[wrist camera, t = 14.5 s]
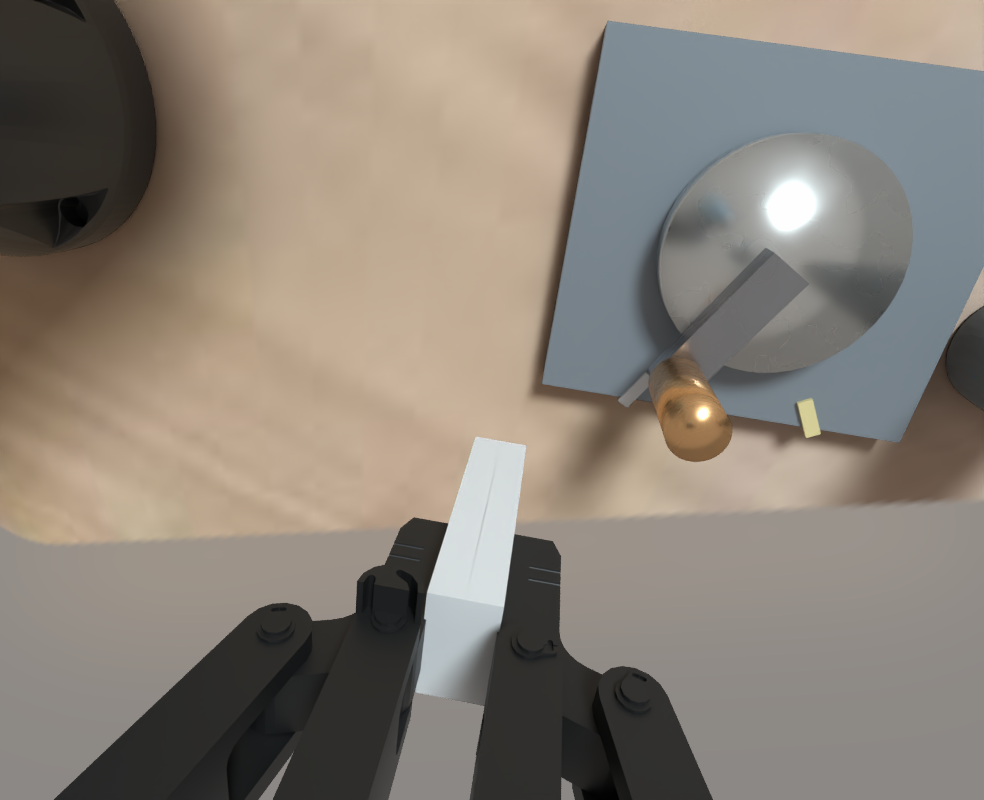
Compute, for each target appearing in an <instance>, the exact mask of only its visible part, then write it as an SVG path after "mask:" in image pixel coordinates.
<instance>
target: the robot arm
mask: <svg viewBox="0 0 984 800" xmlns="http://www.w3.org/2000/svg"><path fill="white" fill-rule="evenodd" d="M155 144H156V121H155V110H154V102H153V96H152V91H151V86H150V82H149V79H148V75H147V71H146V68H145V65H144V62H143V59H142V56H141V54H140V51H139V48H138V46H137V44H136V41H135V39H134V37H133V35H132V32H131V31H130V29H129V27H128V25H127V23H126V21H125V19H124V17H123V15H122V14H121V12H120V10H119V9H118V7H117V5H116V4H115V2H114V1H113V0H0V255H6V256H19V257H22V256H41V255H48V254H53V253H57V252H61V251H66V250H70V249H74V248H79V247H83V246H86V245H89V244H92V243H94V242H97V241H99V240H101V239H103V238H104V237H106V236H108V235H109V234H111V233H112V232H114V231H115V230H116V229H117V228H118V227H120V226H121V225H122V224H123V223H124V222H125V221H126V220H127V219H128V217H129V216H130V215H131V214H132V212H133V211H134V210H135V208H136V206H137V205H138V203H139V202H140V200H141V198H142V196H143V194H144V192H145V189H146V187H147V184H148V181H149V178H150V175H151V171H152V166H153V161H154V155H155ZM526 446H527V445H521V444H515V443H509V442H503V441H498V440H492V439H486V438H480V437H476V438H475V441H474V444H473V447H472V450H471V454H470V457H469V460H468V463H467V466H466V470H465V473H464V476H463V479H462V482H461V486H460V489H459V492H458V495H457V498H456V502H455V505H454V508H453V511H452V514H451V517H450V521H449V524H447V523H442V522H436V521H431V520H425V519H420V518H413V519H411V520H410V521H409V522H408V523H406V524H405V525H404V526H403V527H401V528H400V531H399V533H398V536H397V538H396V540H395V542H394V545H393V547H392V549H391V552H390V555H389V557H388V558H387V561H386V563H385V565H382V566H377V567H374V568H372V569H370V570H368V571H366V572H365V573H363V575H362V576H361V577H360V578H359V580H358V581H357V597H356V613H354V614H352V615H349V616H347V617H344V618H339V619H333V620H322V621H312V619H311V617H310V615H309V614H308V612H307V611H306V610H304V609H302V608H301V607H300V606H297V605H293V604H288V603H277V604H271V605H267V606H265V607H262V608H259V609H257V610H256V611H254V612H253V613H252V614H250V615H249V616H247V617H246V618H245V619H244V620H243V621H242V622H241V623H240V624H239V625H238V626H237V627H236V628H235V629H234V630H233V631H232V632H231V633H229V635H227V636H226V637H225V638H224V639H223V640H222V641H221V642H220V643H219V644H218V645H217V646H216V647H215V648H214V649H213V650H211V651H210V653H208V654H207V655H206V656H205V657H204V658H203V659H202V660H201V661H200V662H199V663H198V664H197V665H196V666H195V667H194V668H192V669H191V670H190V671H189V672H188V673H187V674H186V675H185V676H184V677H183V678H182V679H181V680H180V681H179V682H178V683H177V684H176V685H175V686H173V688H171V689H170V690H169V691H168V692H167V693H166V694H165V695H164V696H163V697H162V698H161V699H160V700H159V701H158V702H156V704H154V705H153V706H152V707H151V708H150V709H149V710H148V711H147V712H146V713H145V714H144V715H143V716H142V717H141V718H140V719H139V720H137V721H136V722H135V723H134V724H133V725H132V726H131V727H130V728H129V729H128V730H127V731H126V732H125V733H124V734H123V735H122V736H121V737H120V738H118V739H117V740H116V741H115V742H114V743H113V744H112V745H111V746H110V747H109V748H108V749H107V750H106V751H105V752H104V753H103V754H101V755H100V756H99V757H98V758H97V759H96V760H95V761H94V762H93V763H92V764H91V765H90V766H89V767H88V768H87V769H86V770H85V771H84V772H82V773H81V774H80V775H79V776H78V777H77V778H76V779H75V780H74V781H73V782H72V783H71V784H70V785H69V786H68V787H67V788H66V789H64V790H63V791H62V792H61V793H60V794H59V795H58V796H57V797H56V798H55V799H54V800H258V799H259V798H260V797H261V795H262V794H263V793H264V791H265V790H266V789H267V787H268V786H269V784H270V783H271V782H272V780H273V779H274V778H275V776H276V775H277V774H278V772H279V771H280V770H281V768H282V767H283V766H284V764H285V763H286V761H287V760H288V759H289V757H290V756H291V755H292V753H293V752H294V753H293V755H292V757H291V760H290V762H289V764H288V766H287V769H286V771H285V773H284V776H283V778H282V780H281V782H280V784H279V787H278V789H277V791H276V793H275V796H274V798H273V800H388V798H389V794H390V791H391V787H392V783H393V780H394V776H395V772H396V768H397V765H398V761H399V757H400V754H401V750H402V746H403V743H404V739H405V735H406V732H407V728H408V724H409V721H410V717H411V708H412V699H413V696H414V692H415V688H416V692H417V693H422V694H427V695H432V696H437V697H442V698H447V699H452V700H457V701H462V702H467V703H473V704H477V705H483V706H485V707H484V714H483V719H482V724H481V730H480V735H479V741H478V746H477V752H476V755H477V756H476V762H475V769H474V775H473V782H472V788H471V795H470V800H561V777H562V778H564V779H566V780H567V781H569V782H571V783H572V789H573V793H574V797H575V800H713V799H712V796H711V794H710V792H709V790H708V788H707V785H706V783H705V781H704V778H703V776H702V774H701V771H700V769H699V767H698V764H697V762H696V760H695V758H694V755H693V753H692V751H691V748H690V746H689V744H688V742H687V739H686V737H685V735H684V733H683V730H682V728H681V726H680V723H679V721H678V719H677V716H676V714H675V712H674V710H673V707H672V705H671V703H670V700H669V698H668V696H667V694H666V693H665V691H664V690H663V688H662V686H661V685H660V684H659V683H658V682H657V681H656V680H655V679H653V678H652V677H651V676H650V675H649V674H647V673H644V672H642V671H640V670H638V669H636V668H631V667H624V666H621V667H616V668H611V669H610V670H608V671H607V672H605V673H604V674H603V675H602V674H600V673H598V672H595V671H593V670H591V669H589V668H587V667H586V666H584V665H582V664H581V663H579V662H577V661H576V660H575V659H574V658H573V657H572V656H570V655H569V653H568V652H567V651H566V650H565V648H564V646H563V644H562V642H561V639H560V633H559V620H560V570H561V555H560V554H559V552H558V550H557V549H556V546H555V544H554V543H553V541H548V540H543V539H537V538H532V537H526V536H521V535H515V534H514V532H515V525H516V518H517V511H518V503H519V496H520V489H521V482H522V475H523V468H524V460H525V453H526ZM416 685H417V687H416Z"/></svg>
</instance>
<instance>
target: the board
mask: <svg viewBox="0 0 984 800" xmlns="http://www.w3.org/2000/svg"><path fill="white" fill-rule="evenodd" d="M785 133H816V134H827V135H832V136H836V137H841V138H844V139H847V140H849V141H852V142H854V143H857V144H859V145H861V146H862V147H864V148H866V149H868V150H869V151H871V152H873V153H874V154H875V155H876V156H877V157H879V158H880V159H881V160H882V161H883V162H885V164H886V165H887V166H888V167H889V168H890V169H891V171H892V172H893V173H894V174H895V176H896V177H897V179H898V181H899V182H900V184H901V185H902V187H903V190H904V192H905V194H906V197H907V199H908V202H909V206H910V211H911V215H912V225H913V241H912V251H911V256H910V261H909V265H908V268H907V271H906V274H905V277H904V279H903V282H902V284H901V286H900V288H899V290H898V292H897V294H896V296H895V297H894V299H893V301H892V302H891V304H890V305H889V307H888V308H887V310H886V311H885V312H884V313H883V315H882V316H881V317H880V318H879V319H878V321H877V322H876V323H875V324H874V325H873V326H872V327H871V328H870V329H869V330H868V331H867V332H866V333H865V334H864V335H863V336H861V337H860V338H859V339H857V340H856V341H855V342H854V343H852V344H851V345H850V346H848V347H847V348H845V349H843V350H842V351H840V352H839V353H837V354H835V355H833V356H831V357H829V358H827V359H825V360H823V361H821V362H818V363H815V364H812V365H810V366H807V367H803V368H799V369H795V370H791V371H784V372H776V373H758V372H747V371H742V370H738V369H733V368H730V367H727V366H725V365H724V366H723V367H722V368H721V369H720V370H719V371H718V372H716V373H715V374H714V375H713V376H712V377H711V378H710V379H709V380H708V383H709V384H710V386H711V388H712V390H713V391H714V393H715V395H716V397H717V398H718V400H719V402H720V404H721V405H722V407H723V409H724V411H725V412H726V414H727V415H733V416H739V417H745V418H752V419H758V420H764V421H770V422H776V423H782V424H788V425H794V426H800V427H803V432H804V436H805V437H806V438H809V437H812V436H816V435H819V434H821V433H820V430H824V431H830V432H837V433H843V434H849V435H855V436H861V437H867V438H873V439H879V440H885V441H891V442H897V443H900V441H901V438H902V436H903V434H904V432H905V430H906V428H907V426H908V424H909V422H910V420H911V418H912V415H913V413H914V411H915V409H916V407H917V405H918V403H919V401H920V399H921V397H922V394H923V392H924V390H925V388H926V386H927V384H928V382H929V380H930V378H931V376H932V373H933V371H934V369H935V367H936V365H937V363H938V361H939V359H940V357H941V355H942V352H943V350H944V348H945V346H946V344H947V342H948V340H949V338H950V336H951V334H952V331H953V329H954V327H955V325H956V323H957V321H958V319H959V317H960V315H961V313H962V310H963V308H964V306H965V304H966V302H967V300H968V298H969V296H970V294H971V292H972V289H973V287H974V285H975V283H976V281H977V279H978V277H979V275H980V273H981V271H982V269H983V266H984V71H978V70H970V69H963V68H955V67H948V66H941V65H933V64H926V63H918V62H911V61H903V60H896V59H888V58H881V57H874V56H866V55H859V54H851V53H844V52H836V51H829V50H821V49H814V48H807V47H799V46H792V45H784V44H777V43H769V42H762V41H754V40H747V39H740V38H732V37H725V36H717V35H710V34H702V33H695V32H687V31H680V30H673V29H665V28H658V27H650V26H643V25H635V24H628V23H620V22H613V21H607V24H606V26H605V32H604V37H603V43H602V48H601V54H600V59H599V65H598V71H597V76H596V82H595V87H594V93H593V98H592V104H591V110H590V115H589V121H588V126H587V132H586V137H585V143H584V148H583V154H582V160H581V165H580V171H579V176H578V182H577V187H576V193H575V198H574V204H573V210H572V215H571V221H570V226H569V232H568V237H567V243H566V249H565V254H564V260H563V265H562V271H561V276H560V282H559V287H558V293H557V299H556V304H555V310H554V315H553V321H552V326H551V332H550V337H549V343H548V349H547V354H546V360H545V365H544V371H543V379H542V384H545V385H551V386H557V387H563V388H569V389H575V390H582V391H588V392H594V393H600V394H606V395H612V396H618V397H620V398H619V399H618V401H619V402H620V403H621V404H622V405H624V406H625V407H626V408H628V407H629V406H630V405H631V404H632V403H633V402H634V401H635V400H642V401H648V402H653V400H652V397H651V394H650V391H649V387H648V381H649V376H650V372H649V369H648V367H649V366H650V365H651V364H652V363H653V362H654V361H655V360H656V359H657V357H658V356H659V355H660V354H661V353H662V352H663V351H664V350H665V349H666V348H667V347H668V346H669V345H670V344H671V343H672V342H673V341H674V340H675V339H676V338H677V337H678V336H679V335H680V334H681V333H680V332H679V331H678V329H677V328H676V326H675V324H674V322H673V321H672V319H671V317H670V315H669V314H668V312H667V310H666V308H665V306H664V303H663V301H662V298H661V296H660V292H659V288H658V283H657V274H656V255H657V248H658V243H659V238H660V235H661V231H662V228H663V225H664V223H665V220H666V218H667V216H668V214H669V211H670V209H671V208H672V206H673V204H674V203H675V201H676V199H677V198H678V196H679V195H680V194H681V192H682V191H683V190H684V188H685V187H686V186H687V185H688V183H689V182H690V181H691V180H692V179H693V178H694V177H695V176H696V175H697V174H698V173H699V172H700V171H701V170H702V169H703V168H705V167H706V166H707V165H708V164H710V163H711V162H712V161H713V160H715V159H716V158H718V157H719V156H721V155H722V154H724V153H726V152H727V151H729V150H731V149H733V148H735V147H737V146H739V145H741V144H743V143H746V142H749V141H752V140H755V139H758V138H761V137H765V136H770V135H775V134H785Z"/></svg>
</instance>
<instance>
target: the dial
mask: <svg viewBox="0 0 984 800" xmlns="http://www.w3.org/2000/svg"><path fill="white" fill-rule="evenodd" d="M912 241H913V225H912V215H911V211H910V206H909V202H908V199H907V197H906V194H905V192H904V190H903V187H902V185H901V184H900V182H899V181H898V179H897V177H896V176H895V174H894V173H893V172H892V171H891V169H890V168H889V167H888V166H887V165H886V164H885V162H883V161H882V160H881V159H880V158H879V157H877V156H876V155H875V154H874V153H873V152H871V151H869V150H868V149H866V148H864V147H862V146H861V145H859V144H857V143H854V142H852V141H849V140H847V139H844V138H841V137H836V136H832V135H827V134H816V133H785V134H775V135H770V136H765V137H761V138H758V139H755V140H752V141H749V142H746V143H743V144H741V145H739V146H737V147H735V148H733V149H731V150H729V151H727V152H726V153H724V154H722V155H721V156H719V157H718V158H716V159H715V160H713V161H712V162H711V163H710V164H708V165H707V166H706V167H705V168H703V169H702V170H701V171H700V172H699V173H698V174H697V175H696V176H695V177H694V178H693V179H692V180H691V181H690V182H689V183H688V185H687V186H686V187H685V188H684V190H683V191H682V192H681V194H680V195H679V196H678V198H677V199H676V201H675V203H674V204H673V206H672V208H671V209H670V211H669V214H668V216H667V218H666V220H665V223H664V225H663V228H662V231H661V235H660V238H659V243H658V248H657V255H656V274H657V283H658V288H659V292H660V296H661V298H662V301H663V303H664V306H665V308H666V310H667V312H668V314H669V315H670V317H671V319H672V321H673V322H674V324H675V326H676V328H677V329H678V331H679V332H680V333H681V334H680V335H679V336H678V337H677V338H676V339H675V340H674V341H673V342H672V343H671V344H670V345H669V346H668V347H667V348H666V349H665V350H664V351H663V352H662V353H661V354H660V355H659V356H658V357H657V359H656V360H655V361H654V362H653V363H652V364H651V365H650V366H649V367H648V369H649V372H650V376H649V381H648V387H649V391H650V394H651V397H652V400H653V403H654V407H655V410H656V413H657V416H658V419H659V422H660V425H661V428H662V431H663V434H664V438H665V441H666V444H667V446H668V448H669V449H670V451H671V452H672V453H673V454H674V455H676V456H677V457H679V458H681V459H683V460H686V461H692V462H700V461H706V460H709V459H712V458H714V457H716V456H717V455H719V454H720V453H721V452H722V451H723V450H724V449H725V448H726V447H727V446H728V444H729V442H730V440H731V436H732V425H731V422H730V419H729V418H728V416H727V414H726V412H725V411H724V409H723V407H722V405H721V404H720V402H719V400H718V398H717V397H716V395H715V393H714V391H713V390H712V388H711V386H710V384H709V383H708V380H709V379H710V378H711V377H712V376H713V375H714V374H715V373H716V372H718V371H719V370H720V369H721V368H722V367H723V366H724V365H725V366H727V367H730V368H733V369H738V370H742V371H747V372H758V373H776V372H784V371H791V370H795V369H799V368H803V367H807V366H810V365H812V364H815V363H818V362H821V361H823V360H825V359H827V358H829V357H831V356H833V355H835V354H837V353H839V352H840V351H842V350H843V349H845V348H847V347H848V346H850V345H851V344H852V343H854V342H855V341H856V340H857V339H859V338H860V337H861V336H863V335H864V334H865V333H866V332H867V331H868V330H869V329H870V328H871V327H872V326H873V325H874V324H875V323H876V322H877V321H878V319H879V318H880V317H881V316H882V315H883V313H884V312H885V311H886V310H887V308H888V307H889V305H890V304H891V302H892V301H893V299H894V297H895V296H896V294H897V292H898V290H899V288H900V286H901V284H902V282H903V279H904V277H905V274H906V271H907V268H908V265H909V261H910V256H911V251H912Z"/></svg>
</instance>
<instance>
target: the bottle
mask: <svg viewBox="0 0 984 800" xmlns="http://www.w3.org/2000/svg"><path fill="white" fill-rule="evenodd" d="M946 367H947V374H948V376H949V379H950V382H951V383H952V385H953V386H954V388H955V389H956V390H957V391H958V392H959V393H960V394H961V395H963V396H964V397H965V398H966V399H968V400H969V401H970V402H972V403H973V404H975V405H976V406H977V407H979V408H980V409H982V410H983V411H984V307H982V308H981V309H979V310H978V311H977V312H975V313H974V314H973V315H972V316H970V317H969V318H968V319H967V320H966V321H965V322H964V324H963V325H962V326H961V327H960V328H959V330H958V331H957V333H956V334H955V336H954V338H953V339H952V341H951V344H950V346H949V349H948V354H947V360H946Z"/></svg>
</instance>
